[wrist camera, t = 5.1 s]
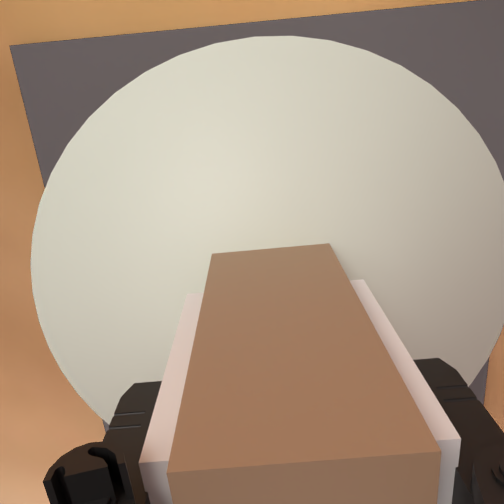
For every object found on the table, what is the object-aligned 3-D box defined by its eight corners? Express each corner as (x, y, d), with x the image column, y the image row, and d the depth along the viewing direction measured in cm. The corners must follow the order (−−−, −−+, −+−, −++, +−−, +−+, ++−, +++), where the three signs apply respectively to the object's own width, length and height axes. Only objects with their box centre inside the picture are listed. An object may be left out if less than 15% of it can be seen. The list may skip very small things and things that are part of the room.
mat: (111, 442, 24) (109, 447, 24) (14, 46, 17) (9, 45, 17) (477, 419, 23) (481, 424, 23) (525, -3, 17) (531, -5, 16)
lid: (98, 475, 20) (-38, 831, 10) (-18, 66, 14) (-610, 17, 4) (478, 445, 19) (699, 784, 10) (531, 12, 13) (1227, -174, 4)
